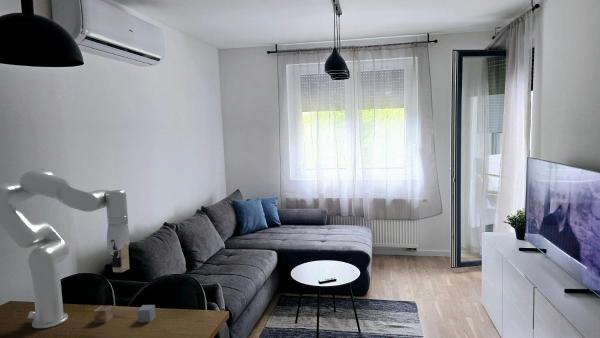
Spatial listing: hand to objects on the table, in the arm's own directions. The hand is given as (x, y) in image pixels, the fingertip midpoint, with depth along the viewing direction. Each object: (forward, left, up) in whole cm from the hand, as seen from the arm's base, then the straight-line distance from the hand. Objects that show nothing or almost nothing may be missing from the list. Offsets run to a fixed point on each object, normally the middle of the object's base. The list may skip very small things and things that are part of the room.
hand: (120, 264), depth 168 cm
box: (0, 0, -3) cm, 3 cm away
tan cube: (-8, -2, -22) cm, 24 cm away
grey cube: (+10, -2, -22) cm, 25 cm away
